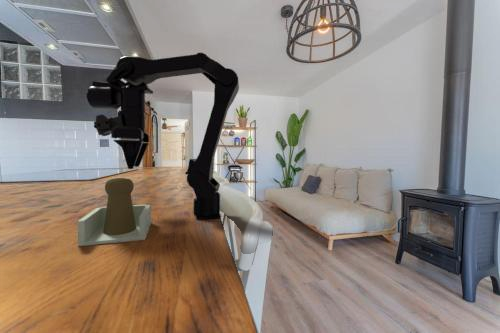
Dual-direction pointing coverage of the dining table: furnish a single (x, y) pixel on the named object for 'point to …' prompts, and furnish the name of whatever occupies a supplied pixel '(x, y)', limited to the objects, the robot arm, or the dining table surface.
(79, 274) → the dining table surface
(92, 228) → the u rest
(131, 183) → the cork
